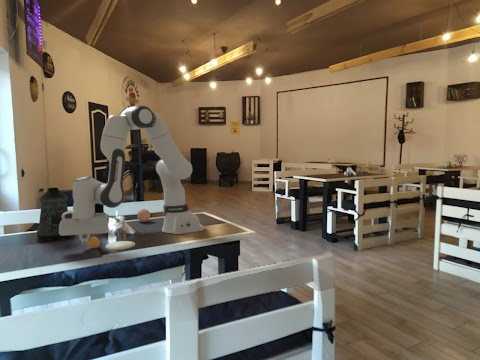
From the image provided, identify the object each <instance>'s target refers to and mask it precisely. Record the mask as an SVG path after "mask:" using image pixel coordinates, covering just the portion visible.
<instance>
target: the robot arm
mask: <svg viewBox="0 0 480 360" xmlns="http://www.w3.org/2000/svg"><path fill="white" fill-rule="evenodd" d="M106 119H107V120H106V121H105V125H104V127H103V129H102V134H101V140H100V151H101V153H102V154H103V155H104V156H105V158H107V160H108V163H109V168H108V169H109V170H108V177H107V183H105V182H101V181H99V180H97V179H96V178H94V177H92V176H89V175H88V176H81V177H78V178H76V179H75V180H74V181H73V183H72V199H73V204H72V209H70V210H68V211H67V212H65V213H63V214H62V220H61V222H60V225H59V234H60V235H61V236H64V235H73V236H78V238H79V240H80V241H81V242H80V243H81V245H88V240H89V239H90V237H91V235H97V234H101V235H102V234H107V233H108V232H109V230H110V229H109V228H110V227H108V226H109V221H110V214H108V213H106V212H104V213H95V204H96V203H99V204H102V205H104V206H105V207H107V208H112V209H113V208H114V209H115V208H117V207H119V206H120V205H121V204H122V203H123V202H124V200H125V199H124V198H125V190H124V175H125V167H126V166H125V165H126V146H127V141H128V136H129V133H130V131H134V130H135V131H137V130H140V129H143V130H144V131H145V133H146V135H147V138H148V140H149V142H150V144H151V147H152V149H153V151H154V153H155V154H156V155H157V156H158V157H159V158H160V160H158V161H157V163H156V164H155V165H156V166H155V171H156V173H157V175H158V176H159V178H160V179H159V180H160V181H161V186H162V190H163V203H164V204H163V207H162V208H163V209H162V211H163V215H164V216H163V224H162V228H161V231H162V232H163V233H166V234H173V235H181V234H189V233H196V232H202V231H205V226H204V225H202V224H201V222H200V219H199V217H198V216H197V215H196V214H194V213H193V212H191V211H190V209H191V205H189V204H187V203H186V191H185V188H184V186H183V185H182V183H181V180H184V179H187V178H189V177H190V176H191V175H192V173H193V165H192V163H191V162H190V161H189V160H187V159H186V157H185V156H184V154H182V153H181V151H180V150H179V149H180V148H178V146H177V145H176V143H175V140H174V138H173V137H172V134H171V131H170V129H169V127H168V125H167V123H166V121H165V120H164V118H163V117H162V115H161V114H160V113H156V112H153V110H152V109H151V108H150V107H149V106H146V105H142V104H141V105H133V106H130V107H128V108H124V109H122V111H120V112H119V113H118V114H113V115H109V116H108V118H106ZM84 235H86V239H84V238H83V236H84Z"/></svg>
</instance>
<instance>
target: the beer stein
mask: <svg viewBox="0 0 480 360" xmlns="http://www.w3.org/2000/svg"><path fill="white" fill-rule="evenodd" d="M67 200H68V196H67V195H66V194H65V193H64V192H62V191H61V190H59V188H58V187H49V188H48V189H47V190H46V191H45V192H44V193H43V194H42V195H41V196H40V197H39V202H40V204H41V205H40V213H39V222H38V227H37V231H36V237H37V240H38V241H40V242H45V243H46V242H50V243H51V242H57V241H64V240H68V239H70V238H73V236H74V235H64V236H61V235H60V234H59V225H60V222H61V220H62V214H63V213H65V212H67V211H69V209H68V205H67Z"/></svg>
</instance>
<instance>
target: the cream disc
mask: <svg viewBox="0 0 480 360" xmlns="http://www.w3.org/2000/svg"><path fill="white" fill-rule="evenodd" d="M134 246H136V243H135V242H134V241H130V240H122V241H121V240H119V241H114V242H110V243H107V244H106V245H105V249H108V250H112V251H113V250H114V251H116V250H119V251H120V250H126V249H130V248H132V247H134Z"/></svg>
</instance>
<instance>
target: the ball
mask: <svg viewBox="0 0 480 360" xmlns="http://www.w3.org/2000/svg"><path fill="white" fill-rule="evenodd" d="M100 243H101V241H100V239H99V238H98V237H96V236H93V237H91V238H90V237H89V239H88V244H87V245H88V248H91V249H97V248H98V247H99V246H100Z"/></svg>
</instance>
